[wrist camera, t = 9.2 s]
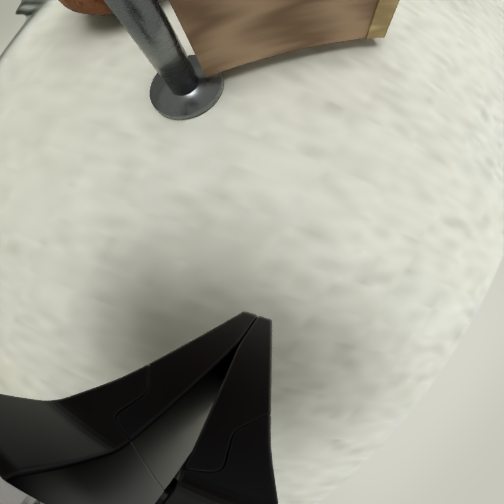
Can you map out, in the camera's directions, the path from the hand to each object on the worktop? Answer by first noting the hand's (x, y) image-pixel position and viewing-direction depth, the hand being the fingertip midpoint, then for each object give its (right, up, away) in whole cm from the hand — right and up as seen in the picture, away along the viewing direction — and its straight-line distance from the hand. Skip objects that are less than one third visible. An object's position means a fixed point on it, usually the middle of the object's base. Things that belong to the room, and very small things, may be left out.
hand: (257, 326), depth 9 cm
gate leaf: (+3, +18, +11) cm, 21 cm away
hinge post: (-5, +15, +13) cm, 21 cm away
